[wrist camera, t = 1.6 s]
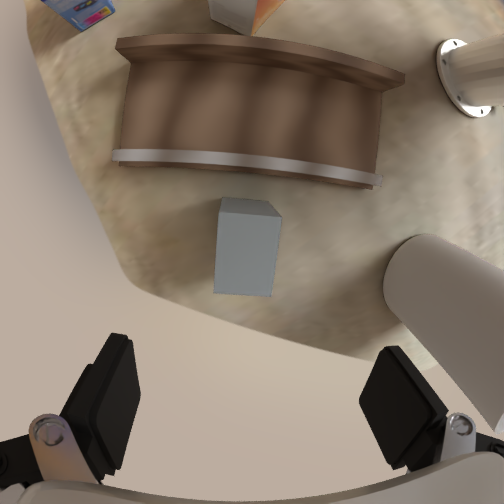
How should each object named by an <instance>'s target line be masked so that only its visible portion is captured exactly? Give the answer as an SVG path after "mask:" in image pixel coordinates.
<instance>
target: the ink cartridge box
mask: <svg viewBox="0 0 504 504" xmlns="http://www.w3.org/2000/svg"><path fill="white" fill-rule="evenodd" d="M41 1H42V2H43V3H45V4H46V5H47V6H49V7H50V8H51V9H53V10H54V11H55V12H56V13H58V14H59V15H60V16H62V17H63V18H64V19H65V20H67V21H68V22H69V23H70V24H72V25H73V26H74V27H75V28H77V29H78V30H79V31H80V32H82V31H83V30H85V29H87V28H88V27H90V26H91V25H93V24H95V23H96V22H98V21H100V20H102V19H103V18H105V17H107V16H109V15H110V14H112V13H114V12H115V9H114V7H113V4H112V2H111V0H41Z"/></svg>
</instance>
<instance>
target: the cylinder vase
mask: <svg viewBox="0 0 504 504" xmlns="http://www.w3.org/2000/svg"><path fill="white" fill-rule="evenodd" d="M383 294H384V298H385V301H386V304H387V306H388V307H389V309H390V310H391V311H392V312H393V313H394V314H395V315H396V316H397V317H398V318H399V319H400V320H401V322H402V323H403V324H404V325H405V326H406V327H407V328H408V329H409V330H410V331H411V332H412V333H413V335H414V336H415V337H416V338H417V339H418V340H419V341H420V342H421V343H422V345H423V346H424V347H425V348H426V349H427V350H428V351H429V352H430V354H431V355H432V356H433V357H434V358H435V359H436V360H437V362H438V363H439V364H440V365H441V366H442V367H443V369H444V370H445V371H446V372H447V373H448V374H449V376H450V377H451V378H452V379H453V380H454V381H455V383H456V384H457V385H458V386H459V388H460V389H461V390H462V391H463V392H464V394H465V395H466V396H467V397H468V398H469V400H470V401H471V402H472V404H473V405H474V406H475V407H476V409H477V410H478V411H479V412H480V414H481V415H482V416H483V418H484V419H485V420H486V422H487V423H488V424H489V426H490V427H491V428H492V430H493V431H494V432H495V434H500V433H502V432H504V270H502V269H501V268H499V267H497V266H495V265H493V264H492V263H490V262H488V261H486V260H484V259H482V258H480V257H478V256H476V255H475V254H473V253H471V252H469V251H467V250H465V249H463V248H461V247H459V246H457V245H455V244H453V243H451V242H449V241H447V240H444V239H442V238H440V237H438V236H436V235H433V234H421V235H418V236H415V237H413V238H411V239H409V240H408V241H406V242H405V243H404V244H403V245H402V246H401V247H400V248H399V249H398V250H397V251H396V252H395V254H394V255H393V257H392V258H391V260H390V262H389V264H388V266H387V269H386V272H385V276H384V281H383Z"/></svg>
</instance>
